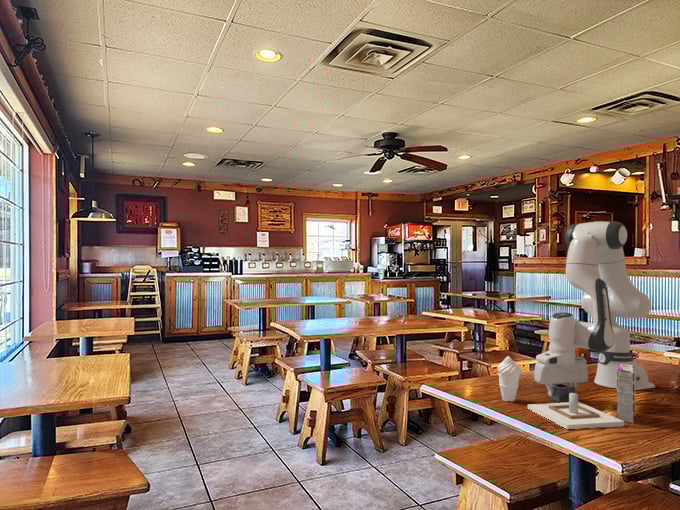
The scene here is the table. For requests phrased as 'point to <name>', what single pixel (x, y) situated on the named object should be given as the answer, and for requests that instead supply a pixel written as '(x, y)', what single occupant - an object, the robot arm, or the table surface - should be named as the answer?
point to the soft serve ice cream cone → (508, 378)
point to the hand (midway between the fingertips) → (561, 395)
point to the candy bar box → (626, 393)
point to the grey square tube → (561, 392)
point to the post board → (575, 414)
